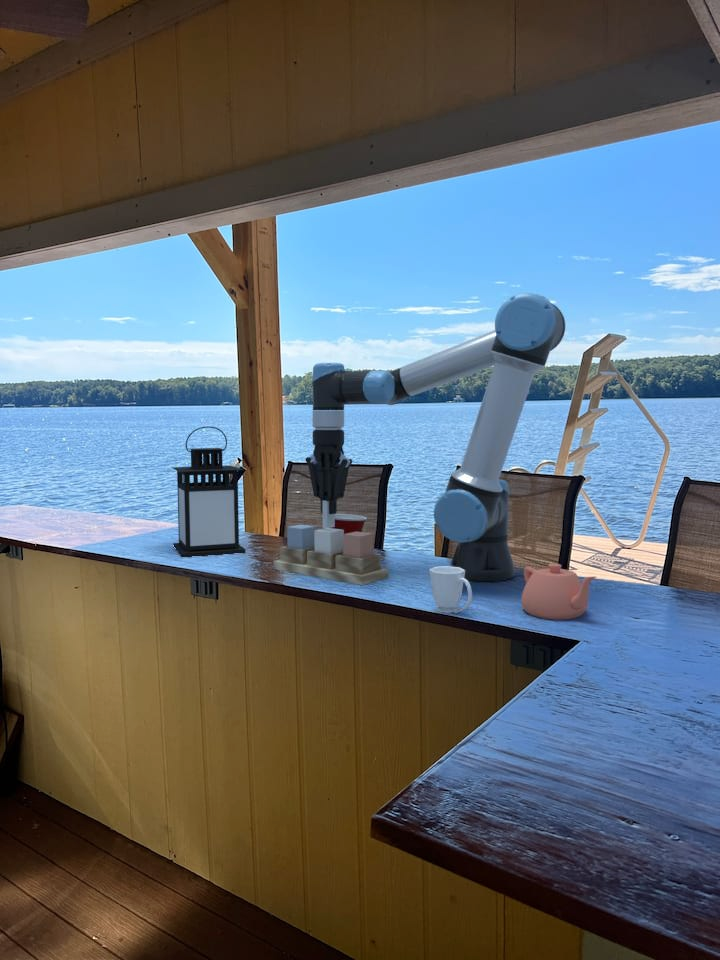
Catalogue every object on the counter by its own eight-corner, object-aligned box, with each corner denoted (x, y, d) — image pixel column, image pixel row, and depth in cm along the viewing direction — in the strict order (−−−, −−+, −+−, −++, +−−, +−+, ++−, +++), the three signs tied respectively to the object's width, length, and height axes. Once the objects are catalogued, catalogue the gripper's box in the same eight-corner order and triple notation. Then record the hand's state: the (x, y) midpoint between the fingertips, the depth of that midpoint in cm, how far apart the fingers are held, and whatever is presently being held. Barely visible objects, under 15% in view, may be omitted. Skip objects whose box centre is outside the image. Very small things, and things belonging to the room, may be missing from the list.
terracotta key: (373, 558, 172) (373, 533, 172) (360, 562, 168) (360, 536, 168) (356, 556, 175) (356, 531, 175) (343, 559, 171) (343, 534, 171)
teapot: (545, 599, 153) (546, 554, 152) (616, 619, 137) (617, 569, 136) (501, 607, 146) (502, 560, 146) (570, 630, 131) (571, 577, 130)
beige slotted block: (388, 577, 173) (388, 554, 172) (362, 585, 165) (362, 561, 165) (301, 562, 190) (300, 541, 190) (273, 569, 183) (273, 547, 182)
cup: (447, 603, 149) (447, 564, 148) (483, 614, 141) (484, 572, 140) (421, 609, 145) (421, 568, 144) (457, 620, 137) (457, 577, 136)
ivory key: (343, 554, 178) (343, 529, 177) (330, 557, 174) (330, 532, 173) (328, 552, 181) (328, 527, 180) (314, 555, 177) (314, 530, 176)
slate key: (316, 550, 183) (315, 526, 183) (302, 553, 179) (302, 528, 179) (301, 547, 186) (301, 524, 186) (287, 550, 183) (287, 526, 182)
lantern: (232, 543, 220) (230, 425, 216) (245, 553, 204) (243, 426, 200) (173, 547, 213) (170, 426, 210) (181, 557, 197) (178, 427, 194)
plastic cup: (372, 562, 190) (372, 516, 189) (331, 565, 187) (331, 518, 186) (360, 555, 200) (360, 511, 199) (321, 557, 198) (321, 512, 196)
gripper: (359, 429, 174) (359, 528, 176) (318, 428, 182) (318, 522, 184) (339, 429, 168) (339, 532, 170) (297, 428, 176) (298, 526, 178)
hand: (328, 527), depth 177 cm, fingers closed
